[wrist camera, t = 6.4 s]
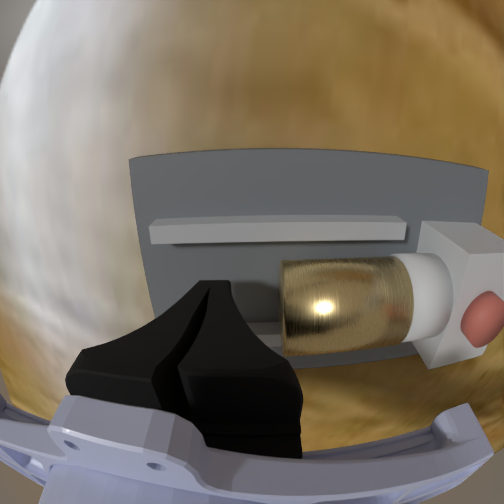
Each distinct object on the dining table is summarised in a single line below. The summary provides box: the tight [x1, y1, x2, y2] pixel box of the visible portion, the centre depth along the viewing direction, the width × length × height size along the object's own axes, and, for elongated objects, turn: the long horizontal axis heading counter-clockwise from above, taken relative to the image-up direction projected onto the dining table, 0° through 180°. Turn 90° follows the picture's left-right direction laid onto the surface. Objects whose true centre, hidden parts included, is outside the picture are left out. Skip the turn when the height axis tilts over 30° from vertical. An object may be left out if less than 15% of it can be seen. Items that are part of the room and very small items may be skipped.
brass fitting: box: [278, 256, 414, 356], centre depth 12 cm, size 5×4×4 cm
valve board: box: [129, 148, 504, 370], centre depth 12 cm, size 18×12×6 cm, turn 91°
